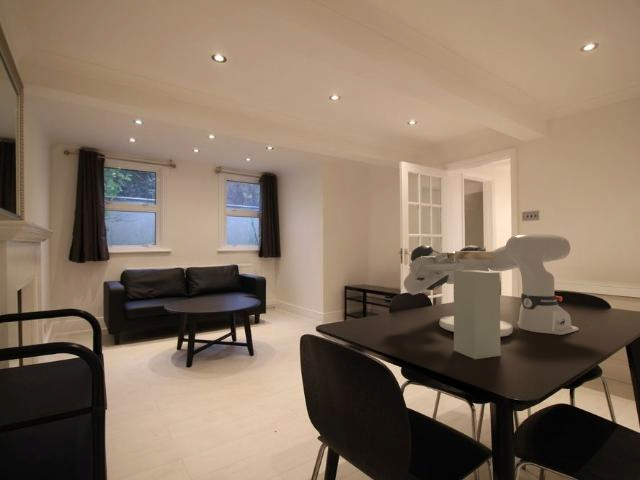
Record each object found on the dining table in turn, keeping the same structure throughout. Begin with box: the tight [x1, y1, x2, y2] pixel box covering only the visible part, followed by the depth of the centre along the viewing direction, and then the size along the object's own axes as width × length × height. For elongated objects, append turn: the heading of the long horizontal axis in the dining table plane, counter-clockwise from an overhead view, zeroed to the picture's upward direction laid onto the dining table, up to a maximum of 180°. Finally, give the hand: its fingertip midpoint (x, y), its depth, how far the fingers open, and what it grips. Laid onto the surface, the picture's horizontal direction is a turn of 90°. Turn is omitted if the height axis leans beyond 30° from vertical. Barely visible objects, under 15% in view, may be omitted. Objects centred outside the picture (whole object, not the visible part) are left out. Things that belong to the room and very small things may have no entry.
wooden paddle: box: [441, 250, 493, 260], centre depth 111 cm, size 18×7×2 cm, turn 19°
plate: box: [438, 315, 514, 338], centre depth 131 cm, size 28×6×27 cm
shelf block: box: [453, 270, 502, 360], centre depth 106 cm, size 10×9×26 cm
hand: (451, 254), depth 116 cm, fingers closed on wooden paddle, 2 cm apart
